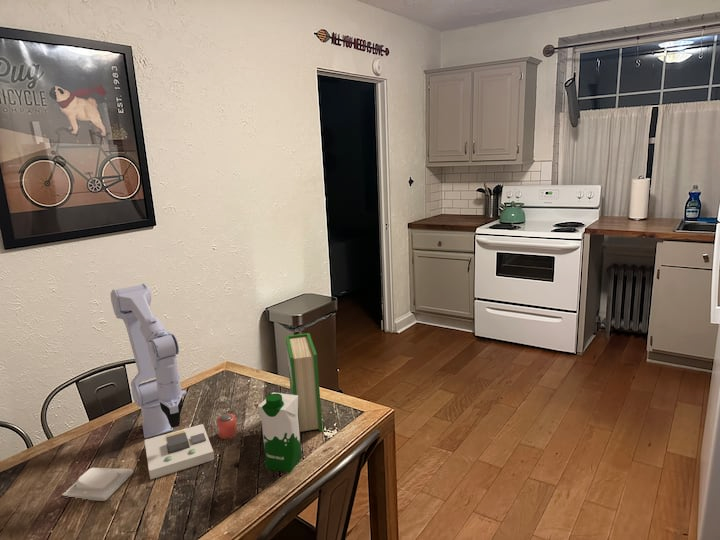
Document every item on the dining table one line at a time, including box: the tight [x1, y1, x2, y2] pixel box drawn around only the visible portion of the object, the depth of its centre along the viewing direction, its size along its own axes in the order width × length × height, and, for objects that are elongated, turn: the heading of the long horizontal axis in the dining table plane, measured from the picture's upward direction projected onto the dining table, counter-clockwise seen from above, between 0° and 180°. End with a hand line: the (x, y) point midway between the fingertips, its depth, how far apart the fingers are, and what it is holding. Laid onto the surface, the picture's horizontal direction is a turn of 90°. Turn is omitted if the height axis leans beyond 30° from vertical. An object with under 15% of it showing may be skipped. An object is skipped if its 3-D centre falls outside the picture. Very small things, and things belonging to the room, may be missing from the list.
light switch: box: [61, 467, 134, 502], centre depth 123 cm, size 11×4×13 cm
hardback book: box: [285, 332, 324, 436], centre depth 147 cm, size 18×7×24 cm, turn 13°
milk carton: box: [257, 392, 303, 474], centre depth 126 cm, size 9×9×20 cm
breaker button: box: [166, 432, 189, 454], centre depth 134 cm, size 5×5×2 cm
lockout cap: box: [216, 413, 238, 440], centre depth 143 cm, size 5×5×5 cm
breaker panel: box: [144, 423, 215, 480], centre depth 134 cm, size 16×16×3 cm
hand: (175, 425), depth 133 cm, fingers closed
